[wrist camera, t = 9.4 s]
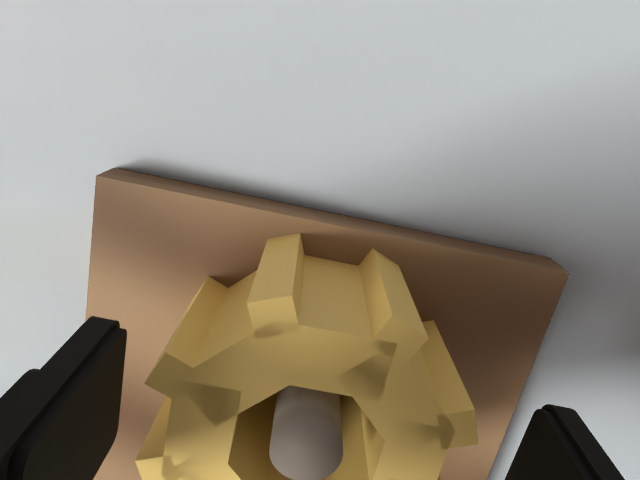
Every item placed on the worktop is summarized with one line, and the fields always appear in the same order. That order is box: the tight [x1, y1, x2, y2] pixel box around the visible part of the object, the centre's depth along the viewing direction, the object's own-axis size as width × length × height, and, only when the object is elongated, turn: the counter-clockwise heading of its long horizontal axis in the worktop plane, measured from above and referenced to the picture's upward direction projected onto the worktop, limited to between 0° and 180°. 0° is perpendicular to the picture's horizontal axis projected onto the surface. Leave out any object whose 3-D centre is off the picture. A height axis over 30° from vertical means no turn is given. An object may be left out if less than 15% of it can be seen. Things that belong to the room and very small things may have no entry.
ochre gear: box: [135, 233, 478, 480], centre depth 13 cm, size 7×7×4 cm
